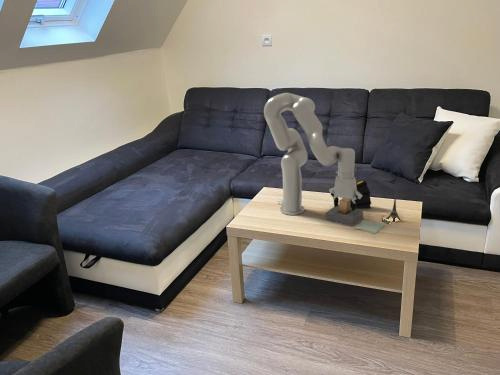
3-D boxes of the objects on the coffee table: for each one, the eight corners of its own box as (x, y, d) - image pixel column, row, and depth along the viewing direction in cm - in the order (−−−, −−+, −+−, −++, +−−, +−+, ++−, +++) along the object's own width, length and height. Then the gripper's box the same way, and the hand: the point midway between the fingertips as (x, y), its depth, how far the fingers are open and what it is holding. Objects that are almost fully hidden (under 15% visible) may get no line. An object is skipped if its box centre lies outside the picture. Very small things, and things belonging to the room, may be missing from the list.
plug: (338, 219, 211) (339, 200, 208) (342, 216, 214) (343, 198, 210) (346, 221, 209) (346, 202, 205) (349, 218, 212) (350, 199, 208)
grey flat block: (325, 219, 211) (325, 212, 210) (337, 211, 220) (337, 204, 218) (352, 226, 203) (352, 218, 201) (362, 217, 211) (363, 210, 210)
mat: (355, 228, 201) (355, 227, 201) (364, 220, 208) (364, 219, 208) (375, 233, 195) (375, 232, 195) (384, 225, 202) (384, 224, 202)
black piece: (377, 205, 221) (365, 181, 217) (353, 215, 224) (341, 191, 220) (376, 203, 224) (364, 178, 220) (352, 212, 228) (340, 188, 224)
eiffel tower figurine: (382, 213, 217) (383, 188, 212) (403, 215, 214) (405, 190, 209) (381, 225, 204) (383, 199, 199) (403, 227, 201) (406, 201, 196)
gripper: (325, 173, 206) (325, 207, 212) (359, 179, 195) (358, 214, 201) (333, 169, 211) (332, 202, 217) (366, 175, 201) (364, 209, 207)
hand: (344, 207), depth 209 cm, fingers open, 8 cm apart
